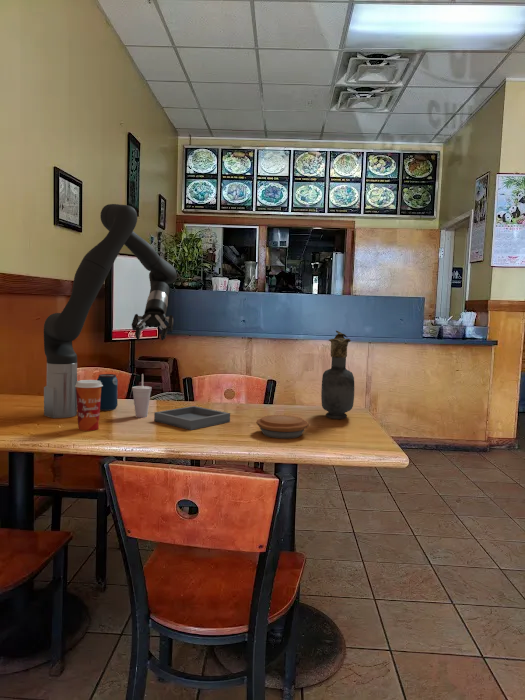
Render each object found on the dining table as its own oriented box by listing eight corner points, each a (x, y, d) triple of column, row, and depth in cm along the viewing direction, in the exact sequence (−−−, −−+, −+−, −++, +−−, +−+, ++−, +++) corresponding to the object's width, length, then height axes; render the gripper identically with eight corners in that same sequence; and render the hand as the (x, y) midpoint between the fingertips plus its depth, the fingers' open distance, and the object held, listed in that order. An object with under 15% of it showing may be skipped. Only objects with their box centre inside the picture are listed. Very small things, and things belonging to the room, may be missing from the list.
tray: (190, 430, 155) (191, 420, 155) (154, 421, 166) (154, 412, 166) (229, 421, 168) (230, 413, 168) (193, 413, 179) (193, 405, 179)
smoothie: (153, 414, 175) (154, 373, 174) (147, 418, 169) (148, 375, 168) (135, 413, 176) (135, 372, 175) (128, 417, 170) (129, 375, 169)
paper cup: (76, 432, 148) (76, 383, 147) (72, 426, 155) (73, 380, 154) (105, 430, 152) (105, 382, 150) (100, 425, 158) (100, 379, 157)
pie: (272, 426, 165) (272, 410, 165) (316, 433, 157) (317, 416, 157) (245, 435, 152) (246, 418, 151) (293, 443, 144) (293, 425, 143)
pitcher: (321, 420, 174) (325, 331, 172) (319, 410, 193) (322, 329, 191) (354, 422, 174) (358, 332, 171) (348, 411, 193) (352, 330, 190)
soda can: (121, 408, 184) (121, 374, 183) (106, 411, 178) (106, 376, 178) (107, 406, 188) (108, 373, 187) (92, 409, 182) (92, 374, 181)
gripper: (135, 297, 190) (127, 330, 179) (174, 298, 190) (169, 331, 179) (139, 312, 196) (131, 344, 185) (177, 313, 196) (171, 345, 185)
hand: (149, 338), depth 182 cm, fingers open, 8 cm apart
